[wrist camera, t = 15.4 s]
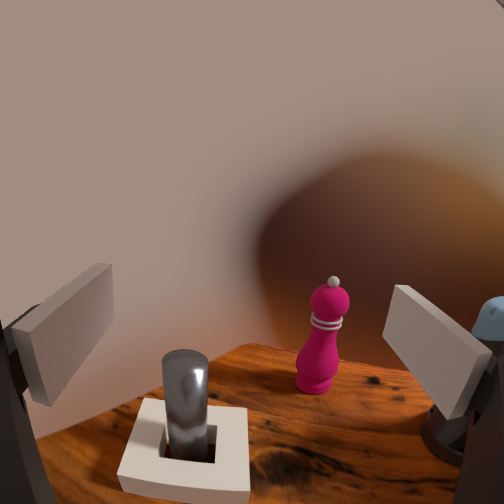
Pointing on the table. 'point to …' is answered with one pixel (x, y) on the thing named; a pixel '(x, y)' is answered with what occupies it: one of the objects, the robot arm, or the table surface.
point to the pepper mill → (322, 339)
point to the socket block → (186, 472)
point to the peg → (186, 403)
